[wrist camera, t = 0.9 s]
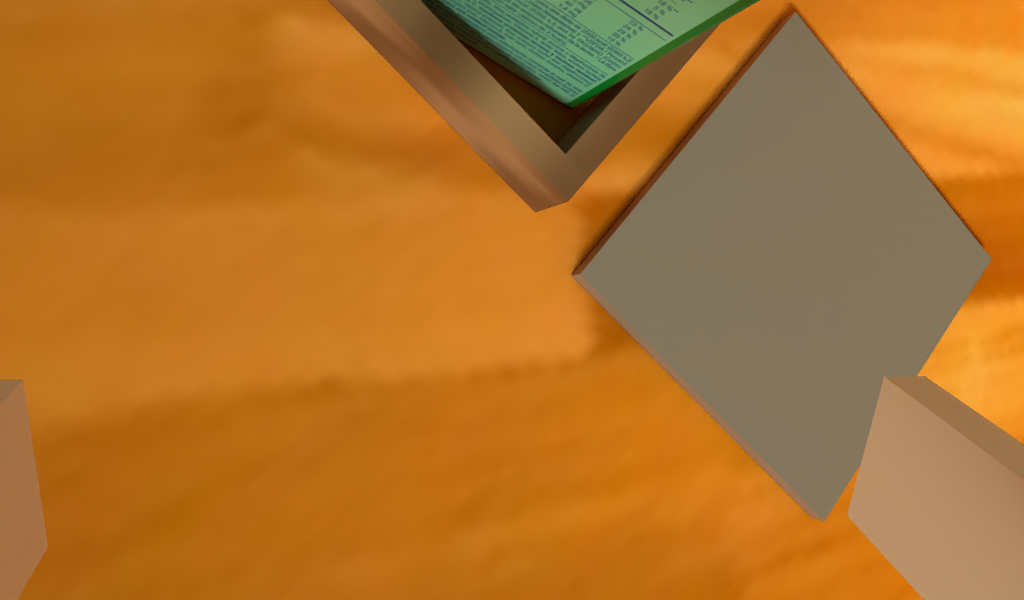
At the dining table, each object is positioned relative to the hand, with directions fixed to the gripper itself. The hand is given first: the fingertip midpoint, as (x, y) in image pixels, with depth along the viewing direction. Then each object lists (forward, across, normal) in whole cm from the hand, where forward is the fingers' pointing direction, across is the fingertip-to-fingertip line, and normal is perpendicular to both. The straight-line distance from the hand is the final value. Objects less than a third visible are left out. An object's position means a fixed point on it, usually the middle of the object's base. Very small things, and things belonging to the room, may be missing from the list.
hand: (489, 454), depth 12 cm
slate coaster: (+21, +17, -4) cm, 27 cm away
